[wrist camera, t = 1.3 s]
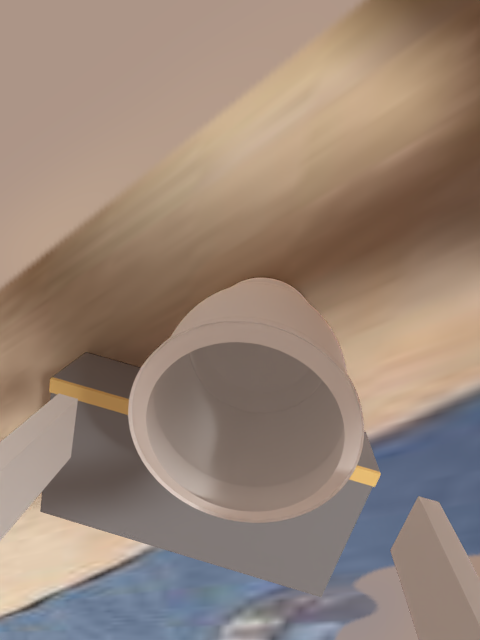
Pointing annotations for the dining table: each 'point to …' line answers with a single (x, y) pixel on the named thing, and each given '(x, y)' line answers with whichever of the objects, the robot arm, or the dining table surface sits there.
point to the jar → (249, 407)
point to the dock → (170, 512)
